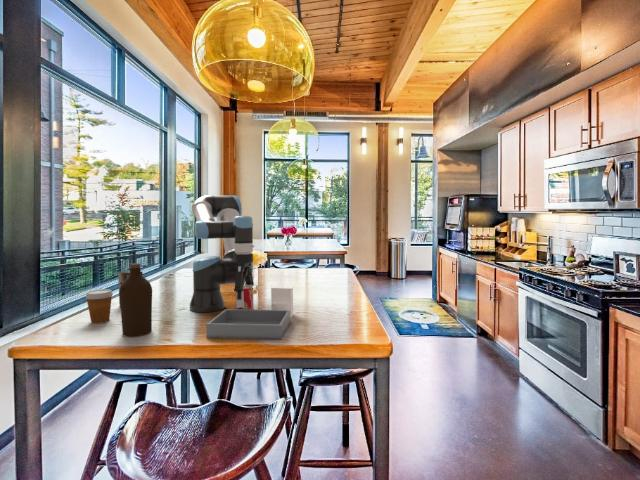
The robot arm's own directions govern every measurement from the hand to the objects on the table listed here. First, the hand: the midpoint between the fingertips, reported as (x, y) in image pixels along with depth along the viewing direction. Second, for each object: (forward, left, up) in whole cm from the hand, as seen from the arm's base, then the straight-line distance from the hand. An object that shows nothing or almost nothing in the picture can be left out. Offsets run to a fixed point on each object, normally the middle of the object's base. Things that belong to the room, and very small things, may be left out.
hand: (244, 303), depth 157 cm
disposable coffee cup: (-55, -13, -5) cm, 57 cm away
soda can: (0, 0, -5) cm, 5 cm away
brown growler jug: (-32, -26, -5) cm, 41 cm away
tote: (+8, -20, -5) cm, 22 cm away
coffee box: (-57, +12, -5) cm, 59 cm away
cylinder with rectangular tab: (+16, 0, -5) cm, 17 cm away
